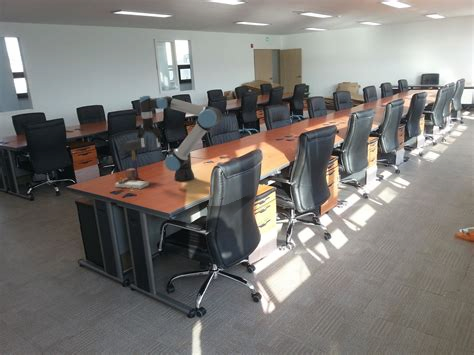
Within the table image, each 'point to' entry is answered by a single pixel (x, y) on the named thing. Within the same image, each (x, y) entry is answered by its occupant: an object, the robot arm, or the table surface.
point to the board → (132, 184)
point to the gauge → (129, 176)
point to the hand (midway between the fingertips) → (151, 147)
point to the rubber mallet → (133, 151)
